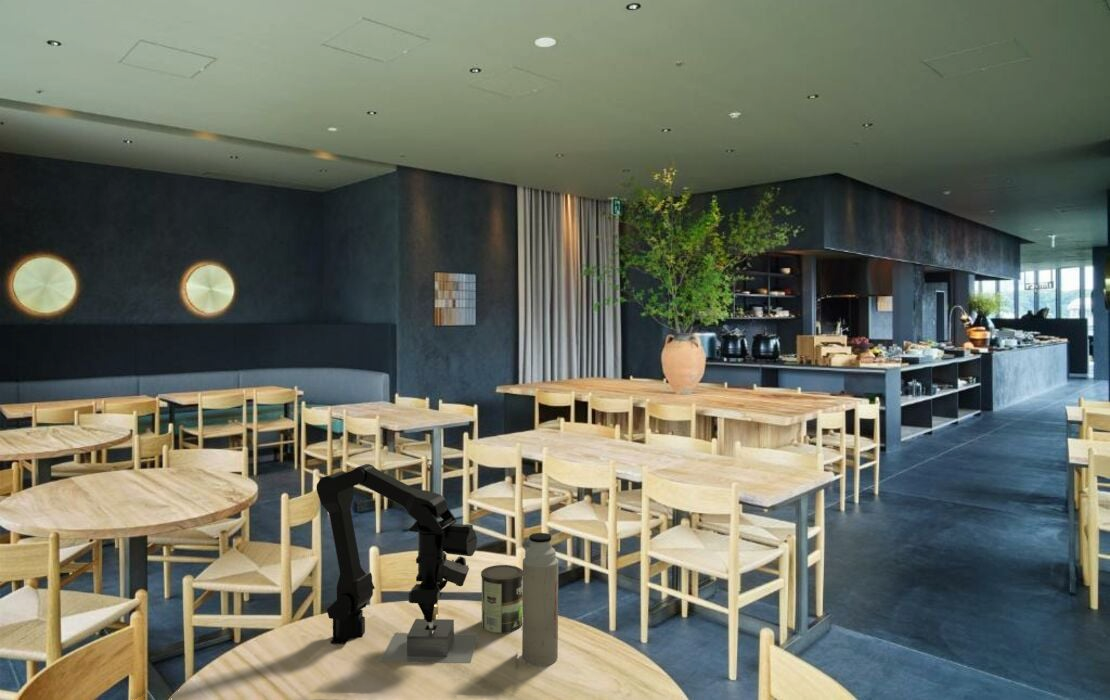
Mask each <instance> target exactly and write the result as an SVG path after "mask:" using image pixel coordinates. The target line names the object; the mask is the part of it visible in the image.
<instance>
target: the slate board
mask: <svg viewBox="0 0 1110 700" xmlns="http://www.w3.org/2000/svg"><path fill="white" fill-rule="evenodd" d="M408 633H409V632H407V633H406V632H394V633H393V636H392V637H391V640H390V641H389V643H388V645H387V647H386V648H385V651H384V652H383V654H382V655H381V658H380V660H379V663H382V662H384V663H389V662H390V663H432V664H433V663H434V664H435V663H438V664H439V663H442V664H471V663H472V658H473V655H474V652H475V649H476V644H477V641H478V638H479V634H478V633H477V634H475V633H454V640H453V643H452V645H451V648H450V651H449V654H448V657H414V656H407V635H408Z"/></svg>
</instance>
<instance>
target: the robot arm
mask: <svg viewBox="0 0 1110 700" xmlns="http://www.w3.org/2000/svg"><path fill="white" fill-rule="evenodd" d="M357 485H362V486H364V487H365V488H368V489H369V490H370V491H373V492H375V493H377V494H378V495H381V496H382V497H384V498H386V499H388V500H390V501H391V502H394V504H395V503H396V504H397V505H400V506H401V507H402V508H403V509H405V511H406V513H407V515H409V516H410V517H411V518H412V519H414V521H415V522H414V523H413V525H412V526H410V527H409V528H408V530H409V532H413V533H417V550H418V551H417V557H416V560H415V564H417V566H418V567H417V574H416V576H415V581H416V582H420V583H416V584H414V586H413V587H411V589H410V591H409V593H408V603H409V604H417V605H418V607H419V609H420V611H421V612H422V615H423V618H424V617H425V619H426V621H427V622H432V618H433V613H434V607H435V603H438V602H439V600H440V598H441V596H442V594H443V592H441V591H442V590H443V589H444V588H445V587H446V585H447V583H448V582H450V583H452V584H455V585H456V586H457V587H463V586H464V584H465V581H466V578H467V575H468V573H469V570H470V567H469V565H468V564H467V560H466V557H472V556H473V555H474V554H475V552H476V549H477V546H478V536H477V533H476V531H475V530H474V525H473V524H459V523H457V522H458V521H457V519H456V517H455V516H454V514H453V513H452V511H451V510H450V508H449V507H448V504H447V501H446V498H445V496H443V495H442V494H439V493H437V492H433V491H430V490H425V489H418V488H414V487H412V486H410V485H408V484H406V483H404V482H402V481H400V480H399V479H397V478H395V477H393V476H392V475H391V476H390V475H389V474H387V473H385V472H384V471H381V470H380V469H378V468H376V467H375V466H374V465H373V464H369V463H364V464H363V465H359V466H357V467H355V468H354V469H352V470H350V471H343V470H340V471H337V472H334V473H332V474H331V473H330V474H327V475H326V476H322V477H321V478H320V479H319V480H318V482H317V483H316V493H317V495H318V496H317V497H318V499H319V502H320V504H321V505H322V507H323V508H324V509H325V510H326V512H327V513H328V515H329V520H330V526H331V532H332V536H333V542H334V544H333V545H334V548H335V554H336V559H337V565H338V571H339V576H338V579H337V582H336V588H335V590H336V591H335V593H336V600H335V601H334V602H333V603H331V604H330V605H329V607H327V609H326V613H327V616H328V618H329V620H331V619H332V638H330V639H331V640H330V642H329V643H330V644H340V645H346V644H347V643H348V641H350V640H352V639H355V638H357V639H359V638H363V636H364V634H365V633H366V618H365V616H363V613H364V612H363V609H364V608H366V607H367V604H368V602H369V601H370V600H371V599H372V597H373V595H374V590H375V589H376V587H375V585H374V583H373V574H372V572H366V571H364V570H363V568H362V566H361V561H360V556H359V550H358V543H357V538H356V533H355V528H354V521H353V516H352V510H351V506H352V503H353V499H354V494H355V493H354V492H355V490H354V487H355V486H357ZM440 519H442V520H441V521H438V520H440ZM447 555H455V556H456V555H457V556H458V557H457V558H455V560H454V559H451V560H449V559H447V558H448V557H447ZM463 556H464V557H463ZM438 604H439V603H438Z"/></svg>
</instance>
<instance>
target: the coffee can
mask: <svg viewBox="0 0 1110 700" xmlns="http://www.w3.org/2000/svg"><path fill="white" fill-rule="evenodd" d="M480 576H481V628H482V629H484V630H485V631H487V632H490V633H493V634H508V633H512V632H516V631H517V630H519V629H521V631H522V629H523V568H521V567H519V566H515V565H510V564H509V565H508V564H496V565H490V566H488V567H485V568H484V569H482V570H481V571H480Z"/></svg>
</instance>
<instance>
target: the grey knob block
mask: <svg viewBox="0 0 1110 700" xmlns="http://www.w3.org/2000/svg"><path fill="white" fill-rule="evenodd" d="M410 627H411V628H410V629H409V632H407V633H408V635H407V656H414V657H448V654H449V651H450V648H451V645H452V643H453V640H454V634H455V619H446V618H445V619H443V618H441V619H440V618H437V619H436V620H433V630H429V622H427V621H426V620H425V619H424V618H415V619H414V621H413V622H412V625H411V626H410Z"/></svg>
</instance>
